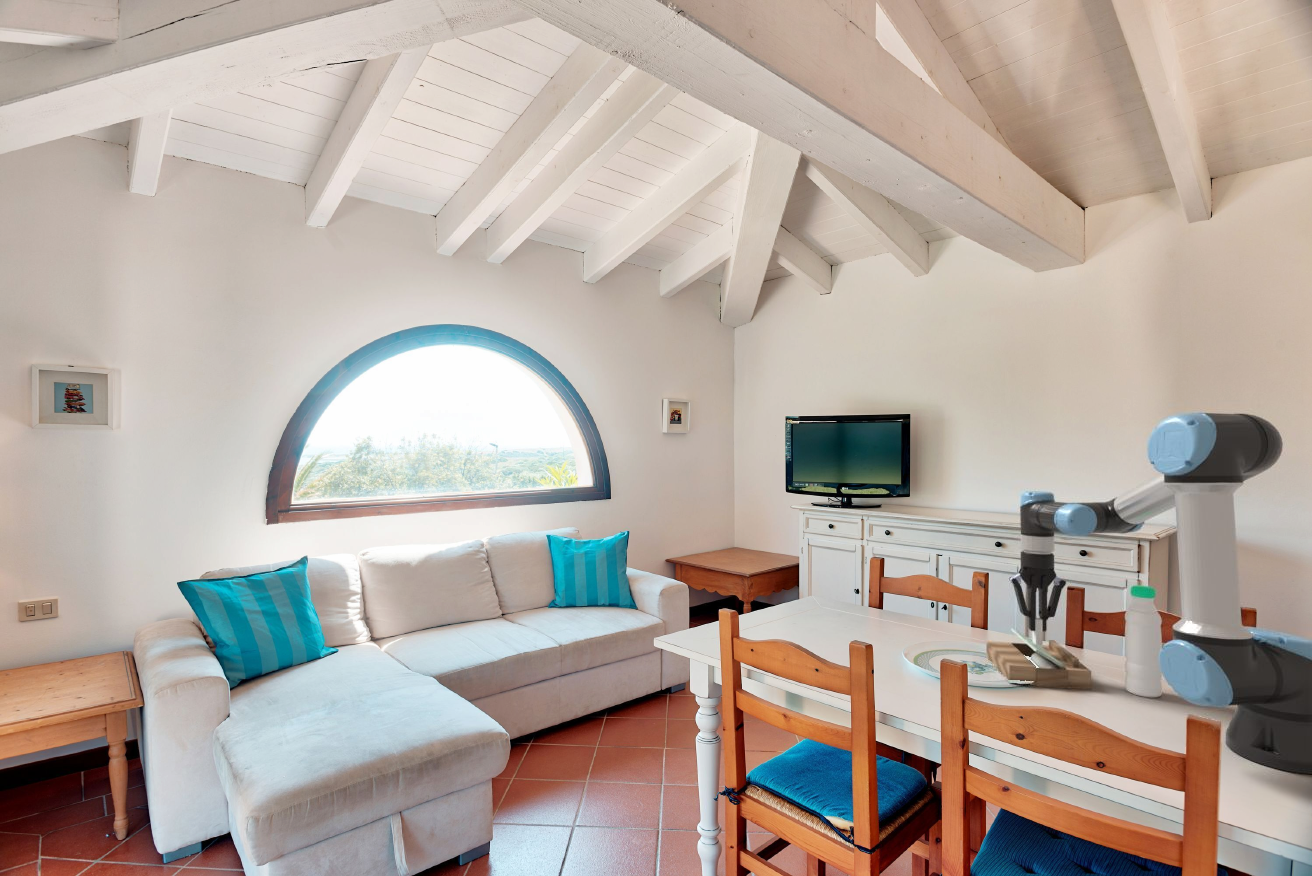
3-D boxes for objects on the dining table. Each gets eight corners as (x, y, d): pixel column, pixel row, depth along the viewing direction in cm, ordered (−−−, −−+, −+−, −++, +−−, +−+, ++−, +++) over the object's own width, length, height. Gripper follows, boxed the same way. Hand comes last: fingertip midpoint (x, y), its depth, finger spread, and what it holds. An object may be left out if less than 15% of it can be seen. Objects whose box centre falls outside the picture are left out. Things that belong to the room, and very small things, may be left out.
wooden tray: (1092, 690, 158) (1092, 663, 158) (1010, 684, 162) (1010, 658, 162) (1058, 661, 179) (1058, 638, 179) (985, 656, 183) (985, 634, 183)
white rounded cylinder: (1059, 681, 163) (1061, 669, 163) (1046, 678, 164) (1048, 666, 164) (1040, 663, 176) (1042, 652, 176) (1028, 661, 177) (1030, 650, 177)
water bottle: (1168, 699, 152) (1168, 590, 153) (1133, 697, 154) (1133, 589, 154) (1152, 688, 159) (1151, 584, 159) (1119, 686, 161) (1118, 583, 161)
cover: (1063, 670, 161) (1065, 666, 160) (1034, 653, 162) (1036, 649, 162) (1035, 646, 179) (1037, 643, 179) (1009, 631, 181) (1011, 628, 180)
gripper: (1059, 550, 173) (1059, 640, 173) (1005, 548, 176) (1005, 637, 175) (1071, 555, 166) (1071, 649, 165) (1014, 553, 168) (1014, 646, 168)
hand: (1037, 643), depth 170 cm, fingers closed
